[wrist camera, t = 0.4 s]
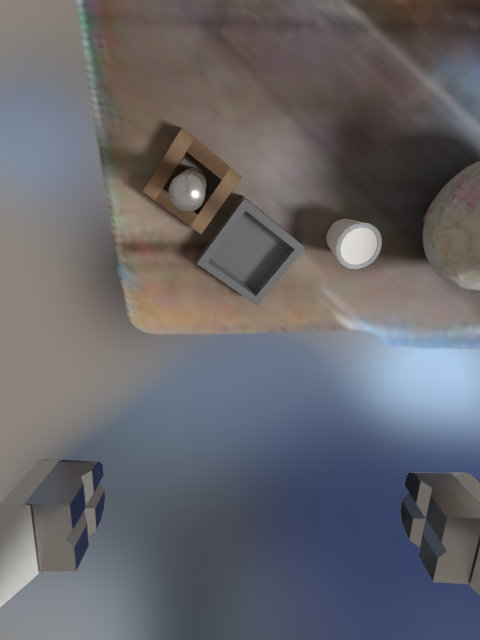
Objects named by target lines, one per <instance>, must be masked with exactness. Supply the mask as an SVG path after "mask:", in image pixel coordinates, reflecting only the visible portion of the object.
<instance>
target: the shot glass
mask: <svg viewBox="0 0 480 640" xmlns="http://www.w3.org/2000/svg"><path fill="white" fill-rule="evenodd" d="M326 240H327V244H328V246H329V248H330V249H331V251H332V252H333V253H334V255H335V256H336V257H337V259H338V260H339V262H340V263H341V264H342V265H344V266H345V267H347V268H351V269H359V268H363V267H366V266H367V265H369V264H370V263H372V262H373V261H374V260H375V259H376V257H377V256H378V255H379V253H380V250H381V247H382V237H381V235H380V233H379V231H378V229H377V228H376V227H374V226H373V225H371V224H368V223H364V222H360V221H355V220H351V219H341V220H338V221H336V222H335V223H333V224H332V225H331V227H330V228H329V230H328V232H327V236H326Z"/></svg>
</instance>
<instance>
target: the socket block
mask: <svg viewBox="0 0 480 640" xmlns="http://www.w3.org/2000/svg"><path fill="white" fill-rule="evenodd" d="M187 152H188V153H189V154H190V155H192V156H193V157H194V158H195V159H197V160H198V161H199V162H200V163H201V164H203V165H204V166H205V167H206V168H208V169H209V170H210V171H211V172H213V173H214V174H215V175H216V176H218V177H219V178H220V179H221V180H220V182H219V183H218V184H217V186H216V187H215V189H214V190H213V192H212V193H211V195H210V196H209V197H208V199H207V200H206V202H205V203H204V205H203V206H202V208H201V209H200V211H199V212H198V211H197V210H194V211H189V212H187V211H182V210H180V209H178V208H177V207H175V205H174V204H173V203H172V201H171V199H170V196H169V189H167V188H166V187H165V186H166V185H167V183H168V181H169V180H170V178H171V177H172V175H173V174H174V172H175V170H176V169H177V167H178V166H179V164H180V163H181V161H182V159H183V158H184V156H185V155H186V153H187ZM241 178H242V177H241V176H240V175H239V174H238V173H236V172H235V171H234V170H233V169H232V168H230V167H229V166H228V165H227V164H226V163H224V162H223V161H222V160H221V159H220V158H218V157H217V156H216V155H215V154H214V153H212V152H211V151H210V150H209V149H207V148H206V147H205V146H204V145H203V144H201V143H200V142H199V141H198V140H197V139H195V138H194V137H193V136H192V135H191V134H189V133H188V132H187V131H186V130H185V129H183V128H181V130H180V132H179V133H178V135H177V137H176V138H175V140H174V141H173V143H172V145H171V146H170V148H169V150H168V151H167V153H166V154H165V156H164V158H163V159H162V161H161V163H160V164H159V166H158V167H157V169H156V171H155V172H154V174H153V176H152V177H151V179H150V180H149V182H148V184H147V185H146V187H145V189H144V190H143V192H144V193H145V194H146V195H148V196H149V197H151V198H152V199H153V200H155V201H156V202H157V203H159V204H160V205H162V206H163V207H164V208H166V209H167V210H168V211H170V212H171V213H173V214H174V215H175V216H177V217H178V218H179V219H181V220H182V221H183V222H185V223H186V224H188V225H189V226H190V227H192V228H193V229H194V230H196V231H197V232H199V233H200V234H202V233H203V231H204V230H205V228H206V227H207V226H208V224H209V223H210V221H211V220H212V219H213V217H214V216H215V214H216V213H217V212H218V210H219V209H220V207H221V206H222V204H223V203H224V202H225V200H226V199H227V197H228V196H229V195H230V193H231V192H232V190H233V189H234V188H235V186H236V185H237V183H238V182H239V181H240V179H241Z"/></svg>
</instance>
